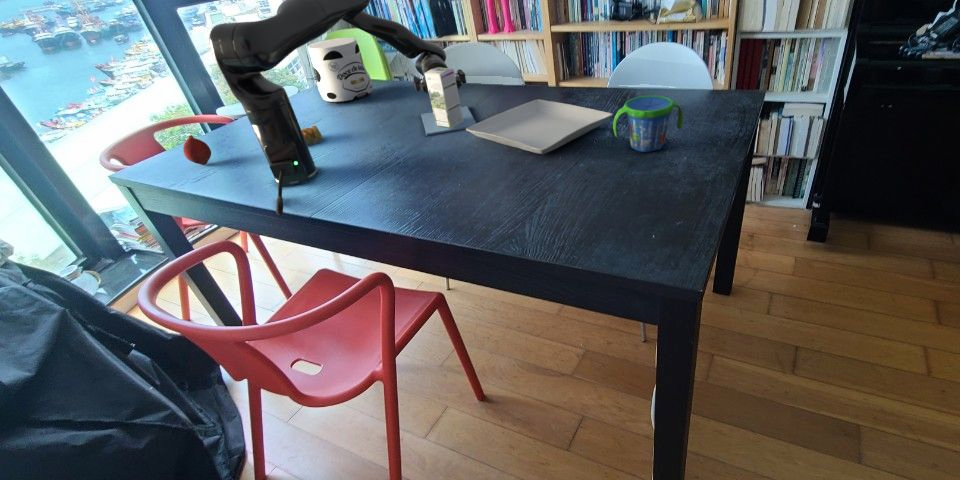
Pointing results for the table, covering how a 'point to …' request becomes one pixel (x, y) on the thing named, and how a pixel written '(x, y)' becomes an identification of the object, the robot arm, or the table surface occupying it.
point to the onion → (196, 150)
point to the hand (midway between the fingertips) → (442, 86)
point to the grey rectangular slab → (433, 129)
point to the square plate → (539, 125)
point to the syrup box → (444, 97)
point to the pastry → (312, 135)
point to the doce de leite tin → (340, 70)
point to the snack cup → (648, 121)
